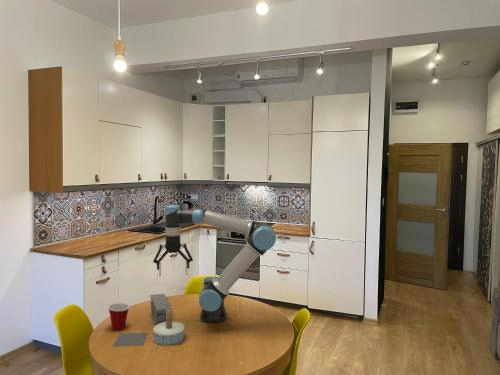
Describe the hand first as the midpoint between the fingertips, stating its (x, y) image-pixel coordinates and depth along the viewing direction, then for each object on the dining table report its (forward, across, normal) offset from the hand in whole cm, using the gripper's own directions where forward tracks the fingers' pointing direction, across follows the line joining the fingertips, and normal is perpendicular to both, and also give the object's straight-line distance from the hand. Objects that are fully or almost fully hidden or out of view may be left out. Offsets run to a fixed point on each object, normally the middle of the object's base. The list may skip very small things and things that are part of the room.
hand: (173, 275), depth 194 cm
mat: (+27, +20, +13) cm, 36 cm away
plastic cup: (+27, +28, -2) cm, 39 cm away
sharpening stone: (+28, +7, -10) cm, 30 cm away
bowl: (+28, +2, +14) cm, 31 cm away
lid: (+23, +2, +14) cm, 27 cm away
